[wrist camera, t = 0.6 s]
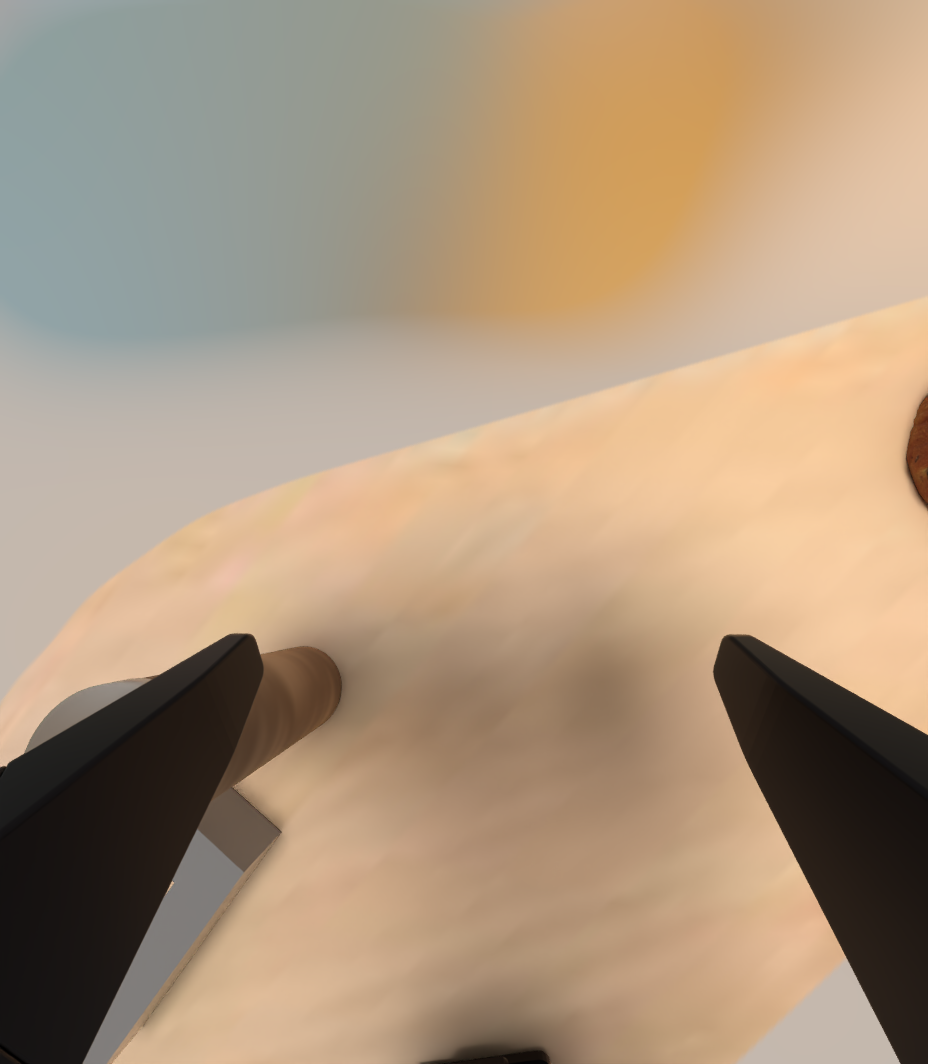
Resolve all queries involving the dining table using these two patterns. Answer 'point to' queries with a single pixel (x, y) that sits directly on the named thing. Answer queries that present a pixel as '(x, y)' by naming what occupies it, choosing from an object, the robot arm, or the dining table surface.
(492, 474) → the dining table surface
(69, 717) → the post
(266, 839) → the grey square frame
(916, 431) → the bread roll
